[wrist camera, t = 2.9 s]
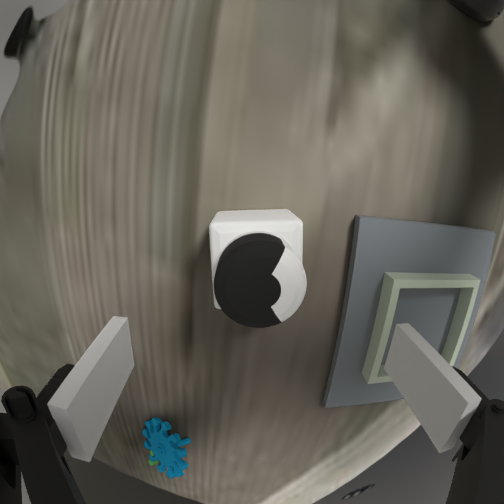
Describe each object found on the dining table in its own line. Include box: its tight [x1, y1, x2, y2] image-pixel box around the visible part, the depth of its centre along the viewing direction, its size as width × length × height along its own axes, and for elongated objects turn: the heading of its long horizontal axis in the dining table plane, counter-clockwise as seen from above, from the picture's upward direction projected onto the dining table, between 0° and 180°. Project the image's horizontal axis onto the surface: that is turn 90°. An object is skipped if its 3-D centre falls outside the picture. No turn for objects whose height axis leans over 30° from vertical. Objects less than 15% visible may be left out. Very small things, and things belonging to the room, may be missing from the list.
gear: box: [142, 417, 191, 478], centre depth 38 cm, size 11×6×10 cm
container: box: [209, 209, 307, 328], centre depth 27 cm, size 8×8×13 cm
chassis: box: [323, 215, 495, 408], centre depth 35 cm, size 26×22×4 cm
